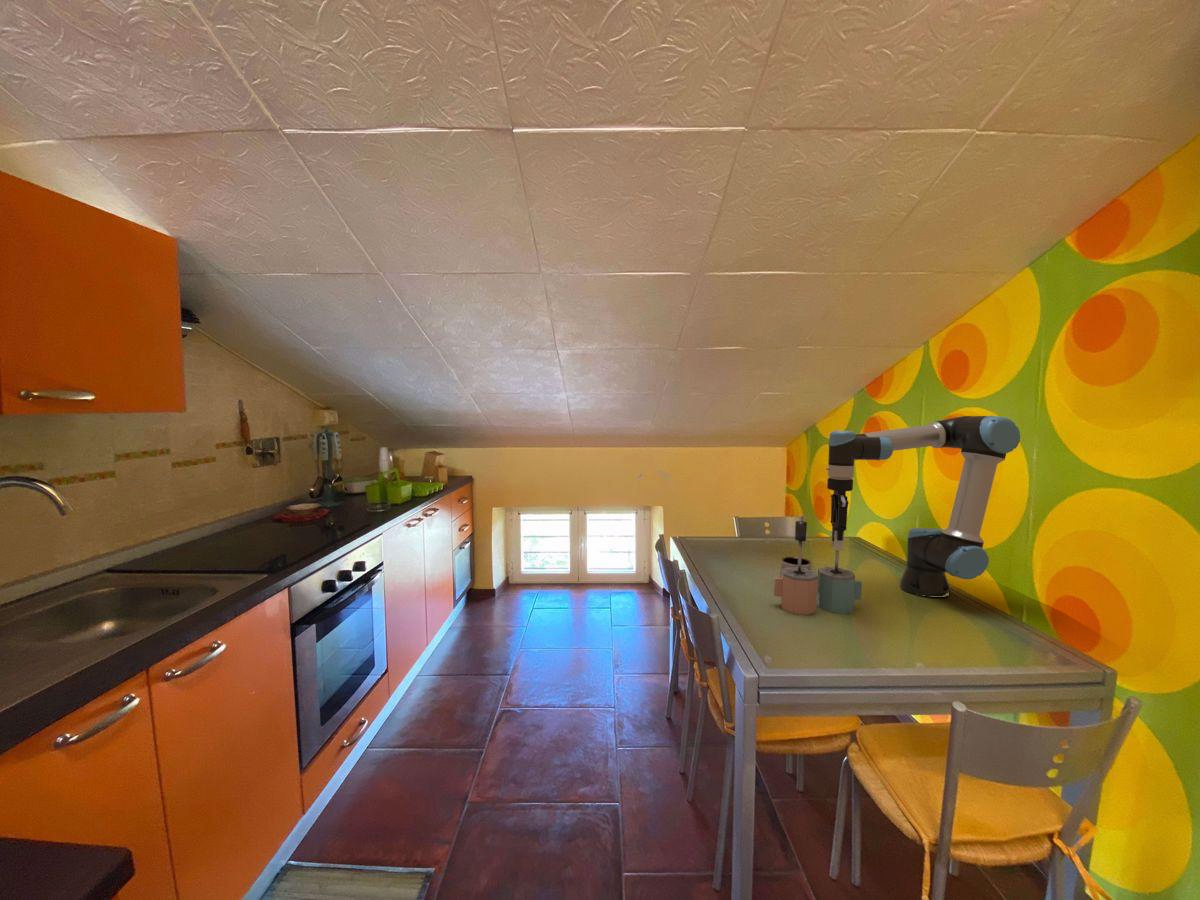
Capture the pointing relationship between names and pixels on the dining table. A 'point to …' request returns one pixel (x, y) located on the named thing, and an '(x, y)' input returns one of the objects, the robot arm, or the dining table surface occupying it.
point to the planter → (794, 563)
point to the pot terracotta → (797, 590)
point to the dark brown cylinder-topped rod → (835, 550)
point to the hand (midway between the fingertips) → (837, 547)
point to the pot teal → (837, 590)
